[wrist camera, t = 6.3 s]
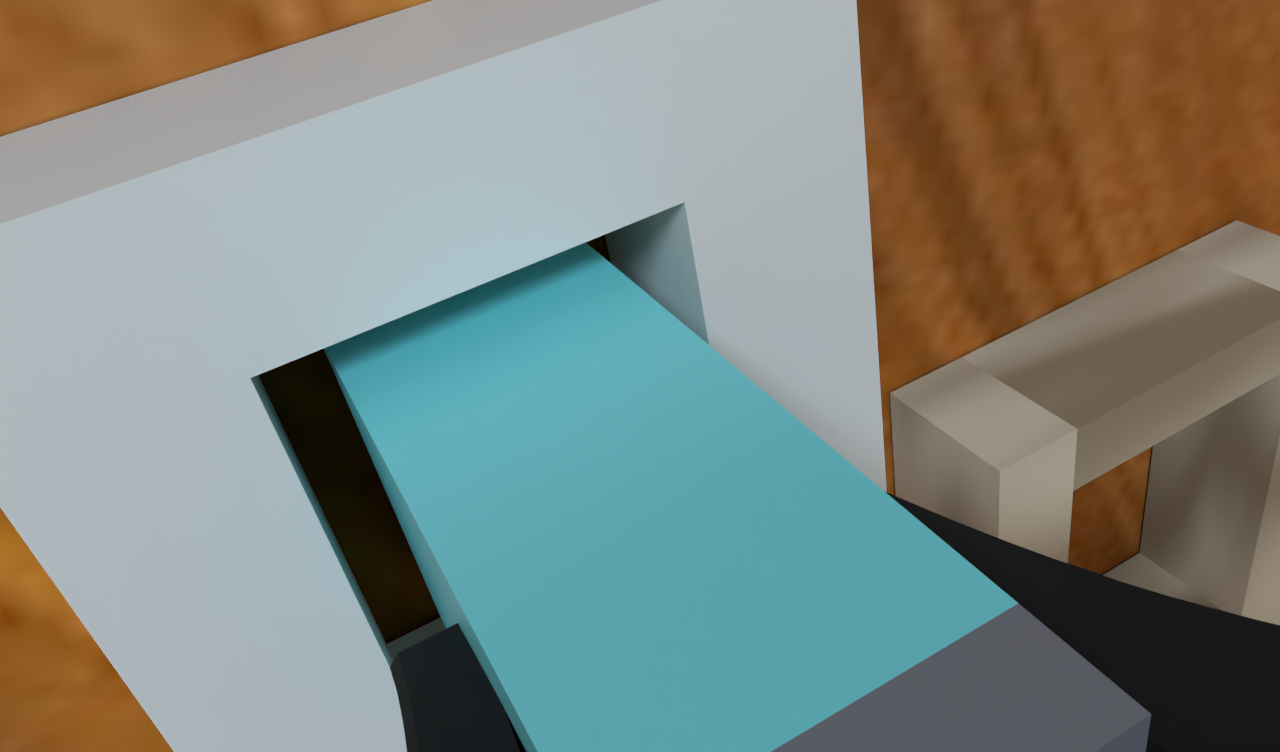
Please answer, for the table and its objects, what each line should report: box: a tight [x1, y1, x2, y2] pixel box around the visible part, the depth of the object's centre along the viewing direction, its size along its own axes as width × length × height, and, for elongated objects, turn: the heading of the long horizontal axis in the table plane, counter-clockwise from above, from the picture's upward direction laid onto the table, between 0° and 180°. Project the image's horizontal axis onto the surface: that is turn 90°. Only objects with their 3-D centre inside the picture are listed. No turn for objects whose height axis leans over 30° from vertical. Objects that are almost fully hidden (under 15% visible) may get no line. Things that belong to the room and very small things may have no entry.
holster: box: [890, 220, 1280, 625], centre depth 20 cm, size 9×8×2 cm
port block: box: [0, 0, 887, 752], centre depth 13 cm, size 10×9×2 cm
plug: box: [323, 242, 1151, 752], centre depth 10 cm, size 4×3×8 cm, turn 12°
